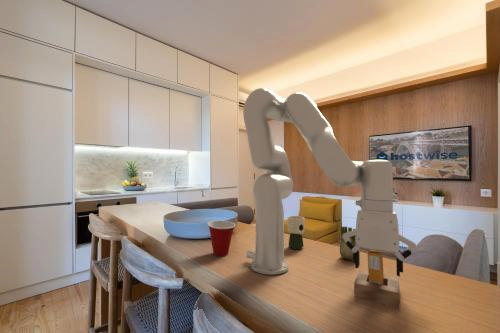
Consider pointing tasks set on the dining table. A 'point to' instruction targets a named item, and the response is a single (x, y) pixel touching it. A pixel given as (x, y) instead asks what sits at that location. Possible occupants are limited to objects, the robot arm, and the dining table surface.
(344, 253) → the fennel bulb
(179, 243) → the dining table surface
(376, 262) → the supplement box
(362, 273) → the square wooden frame
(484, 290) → the dining table surface
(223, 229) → the plastic cup
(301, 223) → the character mug
